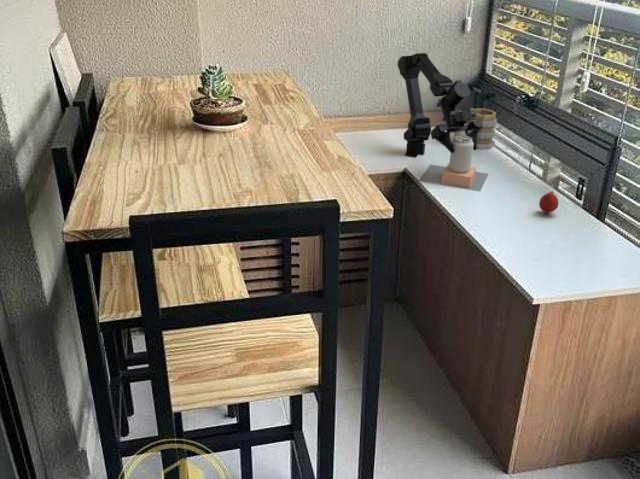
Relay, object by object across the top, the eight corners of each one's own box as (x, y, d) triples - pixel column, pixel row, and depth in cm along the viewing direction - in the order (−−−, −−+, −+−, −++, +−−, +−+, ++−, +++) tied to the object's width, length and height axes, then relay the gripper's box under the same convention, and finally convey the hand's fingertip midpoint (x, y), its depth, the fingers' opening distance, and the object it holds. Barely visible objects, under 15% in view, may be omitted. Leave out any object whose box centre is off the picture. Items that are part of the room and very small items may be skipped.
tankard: (484, 138, 277) (489, 104, 270) (498, 148, 266) (504, 113, 259) (441, 141, 273) (445, 106, 266) (454, 151, 262) (458, 115, 255)
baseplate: (418, 183, 231) (418, 180, 230) (430, 166, 246) (430, 164, 245) (479, 194, 224) (480, 191, 223) (488, 176, 238) (488, 173, 238)
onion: (546, 218, 207) (551, 195, 204) (533, 211, 212) (538, 189, 208) (559, 215, 210) (564, 192, 206) (546, 208, 214) (551, 186, 210)
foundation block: (441, 183, 229) (442, 172, 227) (447, 173, 237) (448, 163, 235) (469, 187, 226) (470, 177, 224) (474, 178, 234) (476, 167, 232)
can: (461, 175, 225) (466, 142, 219) (444, 169, 230) (448, 137, 224) (474, 170, 230) (478, 138, 224) (456, 164, 234) (460, 132, 229)
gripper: (438, 102, 218) (452, 143, 214) (484, 98, 225) (498, 138, 221) (424, 118, 228) (437, 158, 224) (468, 113, 235) (482, 152, 231)
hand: (464, 151), depth 225 cm, fingers open, 9 cm apart
